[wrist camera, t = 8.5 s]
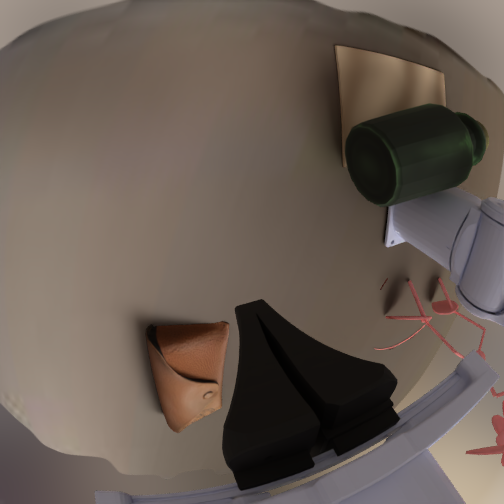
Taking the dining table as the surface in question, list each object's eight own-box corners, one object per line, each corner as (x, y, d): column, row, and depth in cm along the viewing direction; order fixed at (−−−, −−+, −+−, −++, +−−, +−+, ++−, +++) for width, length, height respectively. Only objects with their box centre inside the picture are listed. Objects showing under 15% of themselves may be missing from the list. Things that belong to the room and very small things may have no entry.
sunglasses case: (225, 409, 34) (210, 446, 28) (179, 395, 35) (161, 429, 29) (231, 317, 26) (207, 366, 20) (167, 300, 27) (133, 341, 21)
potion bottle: (381, 237, 20) (482, 184, 22) (426, 170, 13) (515, 139, 15) (330, 165, 23) (440, 135, 25) (346, 91, 16) (464, 87, 18)
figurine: (371, 277, 30) (551, 493, 1) (460, 271, 39) (577, 387, 10) (327, 364, 36) (443, 546, 7) (424, 335, 45) (518, 448, 16)
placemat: (441, 73, 20) (443, 73, 20) (442, 159, 25) (444, 160, 25) (334, 46, 17) (336, 45, 16) (342, 166, 22) (344, 167, 22)
